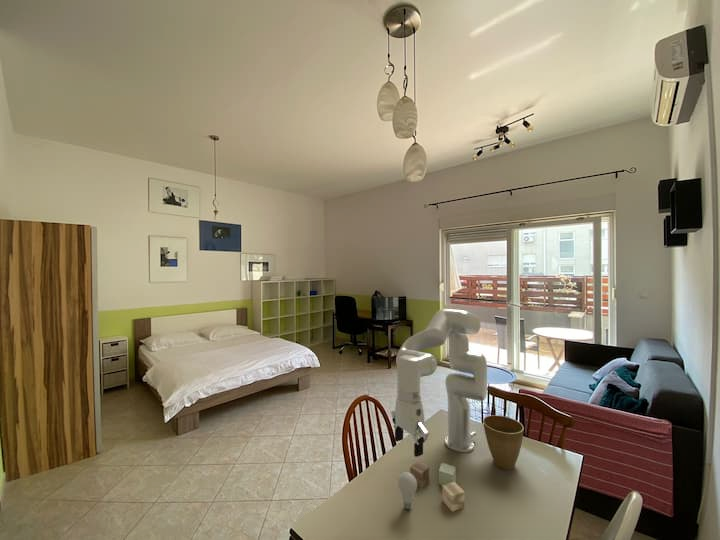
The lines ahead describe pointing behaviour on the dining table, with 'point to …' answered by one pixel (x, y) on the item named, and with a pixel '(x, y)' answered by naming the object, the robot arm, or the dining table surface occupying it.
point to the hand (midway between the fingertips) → (408, 447)
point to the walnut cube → (420, 473)
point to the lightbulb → (407, 488)
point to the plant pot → (503, 439)
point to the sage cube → (447, 474)
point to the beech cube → (453, 496)
